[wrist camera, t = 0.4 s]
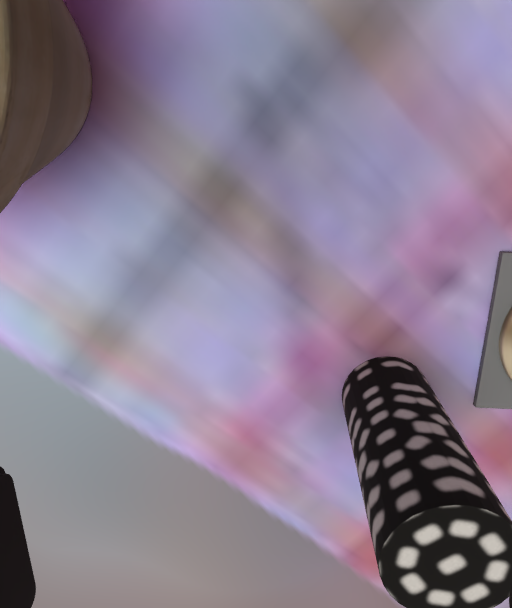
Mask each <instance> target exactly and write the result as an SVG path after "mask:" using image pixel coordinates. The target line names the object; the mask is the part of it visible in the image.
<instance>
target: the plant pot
mask: <svg viewBox="0 0 512 608" xmlns="http://www.w3.org/2000/svg"><path fill="white" fill-rule="evenodd" d="M91 94H92V76H91V67H90V62H89V57H88V54H87V50H86V47H85V44H84V41H83V39H82V37H81V34H80V32H79V30H78V28H77V26H76V24H75V22H74V20H73V18H72V16H71V14H70V12H69V11H68V9H67V7H66V5H65V4H64V2H63V0H0V213H1V212H2V210H3V209H4V208H5V207H6V206H7V205H8V204H9V202H10V201H11V199H12V198H13V197H14V195H15V194H16V192H17V191H18V189H19V188H20V186H21V185H22V183H24V182H25V181H26V180H28V179H29V178H30V177H32V176H33V175H34V174H36V173H37V172H38V171H40V170H41V169H42V168H43V167H45V166H46V165H47V164H49V163H50V162H51V161H53V160H54V159H55V158H56V157H57V156H59V155H60V154H61V153H62V152H63V151H64V150H65V149H66V148H67V147H68V146H69V145H70V144H71V143H72V142H73V140H74V139H75V138H76V136H77V135H78V133H79V131H80V130H81V128H82V126H83V124H84V122H85V120H86V117H87V114H88V111H89V107H90V102H91Z"/></svg>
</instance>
